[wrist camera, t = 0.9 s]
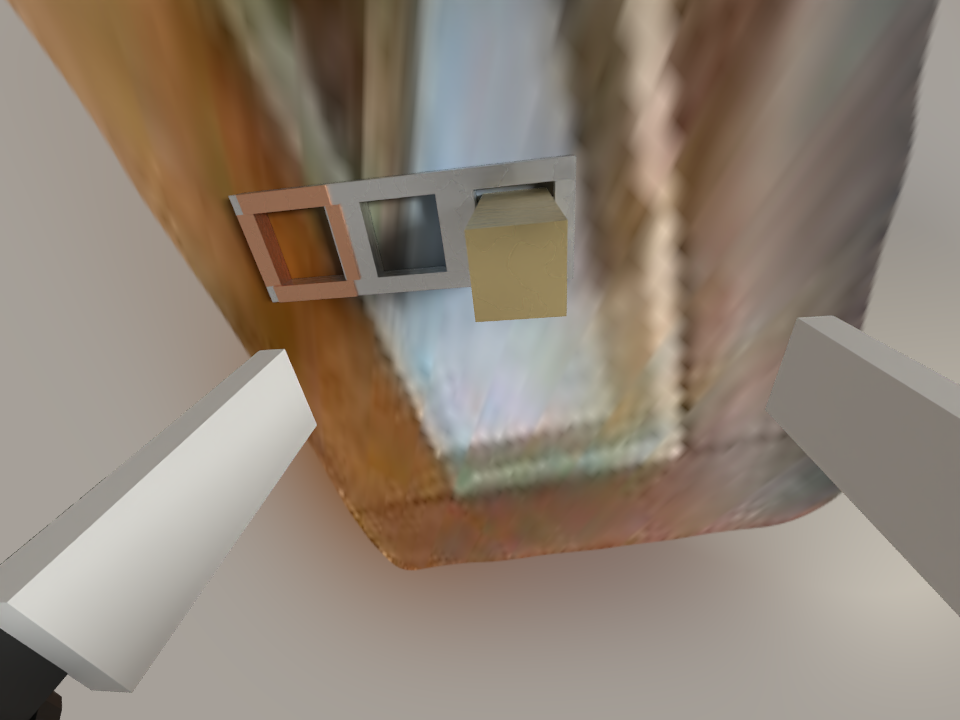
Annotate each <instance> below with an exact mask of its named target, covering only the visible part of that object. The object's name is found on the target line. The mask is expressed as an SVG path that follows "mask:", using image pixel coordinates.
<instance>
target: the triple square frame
mask: <svg viewBox="0 0 960 720" xmlns="http://www.w3.org/2000/svg"><path fill="white" fill-rule="evenodd" d="M548 181H553V199H554V200H555V202H556V203H557V205H558V206H559V208H560V209H561V211H562V212H563V214H564V215H565V217H566V218H567V220H568V232H567V279H573V276H574V230H575V184H576V156H575V155H565V156H557V157H548V158H540V159H531V160H522V161H514V162H505V163H497V164H488V165H479V166H471V167H462V168H454V169H445V170H437V171H428V172H419V173H411V174H402V175H394V176H385V177H376V178H368V179H359V180H351V181H342V182H334V183H325V184H316V185H308V186H299V187H291V188H282V189H273V190H265V191H256V192H248V193H241V194H236V195H231V196H229V199H230V201H231V204H232V206H233V208H234V211H235V213H236V216H237V218H238V220H239V223H240V225H241V228H242V230H243V232H244V235H245V237H246V239H247V242H248V244H249V247H250V249H251V251H252V254H253V256H254V259H255V261H256V263H257V266H258V268H259V271H260V273H261V275H262V278H263V280H264V283H265V285H266V287H267V290H268V292H269V295H270V297H271V299H272V302H291V301H304V300H317V299H330V298H342V297H355V296H358V295H370V294H383V293H396V292H409V291H421V290H434V289H447V288H460V287H471V280H470V272H469V264H468V256H467V248H466V240H465V232H464V230H465V228H466V226H467V224H468V222H469V220H470V218H471V216H472V214H473V212H474V210H475V208H476V206H477V200H476V190H475V189H484V188H493V187H502V186H511V185H521V184H530V183H539V182H548ZM429 194H435V196H436V203H437V209H438V216H439V222H440V229H441V235H442V242H443V248H444V255H445V261H446V266H438V267H426V268H414V269H403V270H391V271H384V268H383V264H382V260H381V255H380V251H379V247H378V243H377V239H376V235H375V231H374V227H373V223H372V218H371V214H370V210H369V206H368V202H367V201H374V200H383V199H392V198H401V197H411V196H420V195H429ZM322 206H324V209H325V212H326V215H327V219H328V222H329V225H330V229H331V232H332V235H333V239H334V242H335V245H336V249H337V252H338V255H339V259H340V262H341V265H342V269H343V272H344V275H332V276H320V277H309V278H297V279H291V276H290V273H289V271H288V268H287V265H286V263H285V260H284V257H283V255H282V252H281V249H280V247H279V244H278V241H277V239H276V236H275V233H274V231H273V228H272V225H271V223H270V220H269V217H268V215H267V212H276V211H285V210H294V209H303V208H313V207H322Z"/></svg>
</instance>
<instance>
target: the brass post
mask: <svg viewBox="0 0 960 720" xmlns="http://www.w3.org/2000/svg"><path fill="white" fill-rule="evenodd" d="M464 232H465V240H466V248H467V256H468V264H469V272H470V280H471V288H472V296H473V304H474V312H475V320H476V322H484V321H499V320H514V319H529V318H545V317H560V316H566V311H567V232H568V220H567V218H566V217H565V215H564V214H563V212H562V211H561V209H560V208H559V206H558V205H557V203H556V202H555V200H554V199H553V197H552V196H551V194H550V193H549V191H548V190H547V188H546V187H542V188H532V189H523V190H514V191H504V192H495V193H486V194H483V195H482V197H481V199H480V201H479V202H478V204H477V206H476V208H475V210H474V212H473V214H472V216H471V218H470V220H469V222H468V224H467V226H466V228H465V230H464Z"/></svg>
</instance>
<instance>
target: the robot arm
mask: <svg viewBox="0 0 960 720" xmlns="http://www.w3.org/2000/svg"><path fill="white" fill-rule="evenodd" d="M765 410H766V411H767V412H768V413H769V414H770V415H771V417H772V418H773V419H774V420H775V421H776V422H777V423H778V424H779V425H780V426H781V427H782V428H783V429H784V430H785V431H786V432H787V434H788V435H789V436H790V437H791V438H792V439H793V440H794V441H795V442H796V443H797V444H798V445H799V446H800V447H801V448H802V450H803V451H804V452H805V453H806V454H807V455H808V456H809V457H810V458H811V459H812V460H813V461H814V462H815V463H816V464H817V465H818V467H819V468H820V469H821V470H822V471H823V472H824V473H825V474H826V475H827V476H828V477H829V478H830V479H831V480H832V481H833V482H834V484H835V485H836V486H837V487H838V488H839V489H840V490H841V491H842V492H843V493H844V494H845V495H846V496H847V497H848V498H849V499H850V501H852V503H853V504H854V505H855V506H856V507H857V508H858V509H859V510H860V511H861V512H862V513H863V514H864V515H865V516H866V518H868V520H869V521H870V522H871V523H872V524H873V525H874V526H875V527H876V528H877V529H878V530H879V531H880V532H881V534H882V535H883V536H884V537H885V538H886V539H887V540H888V541H889V542H890V543H891V544H892V545H893V546H894V547H895V548H896V550H898V552H900V553H901V555H902V556H903V557H904V558H905V559H906V560H907V561H908V562H909V563H910V564H911V565H912V567H913V568H914V569H915V570H916V571H917V572H918V573H919V574H920V575H921V576H922V577H923V578H924V579H925V580H926V581H927V582H928V584H929V585H930V586H931V587H932V588H933V589H934V590H935V591H936V592H937V593H938V594H939V595H940V596H941V597H942V598H943V599H944V601H945V602H946V603H947V604H948V605H949V606H950V607H951V608H952V609H953V610H954V611H955V612H956V613H957V614H958V615H959V617H960V385H959V384H958V383H955V382H954V381H952V380H950V379H948V378H947V377H945V376H943V375H941V374H939V373H937V372H935V371H934V370H932V369H930V368H928V367H926V366H925V365H923V364H921V363H919V362H917V361H915V360H914V359H912V358H909V357H908V356H906V355H904V354H902V353H901V352H899V351H897V350H895V349H893V348H891V347H890V346H887V345H886V344H884V343H882V342H880V341H878V340H877V339H875V338H873V337H871V336H869V335H867V334H866V333H864V332H862V331H860V330H858V329H857V328H855V327H853V326H851V325H849V324H847V323H846V322H844V321H842V320H840V319H838V318H836V317H835V316H818V317H801V318H797V320H796V323H795V326H794V329H793V331H792V334H791V337H790V340H789V343H788V346H787V349H786V351H785V354H784V357H783V360H782V363H781V366H780V369H779V371H778V374H777V377H776V380H775V383H774V386H773V389H772V391H771V394H770V397H769V400H768V403H767V406H766V409H765ZM316 425H317V424H316V422H315V420H314V417H313V415H312V413H311V410H310V408H309V405H308V403H307V401H306V398H305V396H304V394H303V391H302V389H301V386H300V384H299V382H298V379H297V377H296V375H295V372H294V370H293V367H292V365H291V363H290V360H289V358H288V356H287V353H286V351H285V349H276V350H260V351H258V352H257V353H256V354H255V355H254V356H252V357H251V358H250V359H249V360H247V361H246V362H245V363H244V364H243V365H241V367H239V368H238V369H237V370H235V371H234V372H233V373H232V374H231V375H229V376H228V377H227V378H226V379H224V380H223V381H222V382H221V383H220V384H218V385H217V386H216V387H215V388H214V389H212V390H211V391H210V392H209V393H208V394H206V395H205V396H204V397H203V398H202V399H200V400H199V401H198V402H197V403H196V404H195V405H193V406H192V407H191V408H189V409H188V410H187V411H186V412H185V413H183V414H182V415H181V416H180V417H179V418H177V419H176V420H175V421H174V422H173V423H171V424H170V425H169V426H168V427H167V428H165V429H164V430H163V431H162V432H160V433H159V434H158V435H157V436H156V437H154V438H153V439H152V440H151V441H150V442H148V443H147V444H146V445H145V446H144V447H142V448H141V449H140V450H139V451H137V452H136V453H135V454H134V455H133V456H131V458H129V459H128V460H127V461H126V462H124V463H123V464H122V465H121V466H119V467H118V468H117V469H116V470H115V471H113V472H112V473H111V474H110V475H108V476H107V477H106V478H104V479H103V480H102V481H101V482H99V484H97V485H96V486H95V487H93V488H92V489H91V490H90V491H89V492H87V493H86V494H85V495H84V496H83V497H81V498H80V499H79V500H78V501H77V502H76V503H75V504H73V505H72V506H70V507H69V508H68V509H67V510H66V511H64V512H63V513H62V514H61V515H60V516H58V517H57V518H56V520H54V521H53V522H52V523H50V524H49V525H47V526H46V527H45V528H44V529H43V530H42V531H40V532H39V533H38V534H37V535H35V536H34V537H33V538H32V539H30V540H29V541H28V542H27V543H26V544H25V545H23V546H22V547H21V548H20V549H18V550H17V551H16V552H15V553H14V554H12V555H11V556H10V557H9V558H7V559H6V560H5V561H4V562H3V563H1V564H0V720H60V716H61V711H62V697H61V696H60V695H59V694H57V693H56V692H55V691H54V689H55V688H56V687H57V686H58V685H59V684H60V682H61V681H62V680H63V679H64V678H65V677H66V675H67V674H68V675H69V676H71V677H72V678H74V679H75V680H77V681H78V682H80V683H82V684H83V685H84V686H86V687H87V688H89V689H90V690H97V691H114V692H129V693H132V692H133V691H134V689H135V688H136V686H137V685H138V684H139V682H140V681H141V679H142V678H143V676H144V675H145V673H146V672H147V671H148V669H149V668H150V666H151V665H152V663H153V661H154V660H155V659H156V657H157V656H158V655H159V653H160V651H161V650H162V649H163V647H164V646H165V644H166V643H167V641H168V640H169V639H170V637H171V636H172V634H173V633H174V631H175V630H176V628H177V627H178V625H179V624H180V623H181V621H182V620H183V618H184V617H185V615H186V614H187V613H188V611H189V610H190V608H191V607H192V605H193V604H194V602H195V601H196V599H197V598H198V596H199V595H200V594H201V592H202V591H203V589H204V588H205V586H206V585H207V584H208V582H209V580H210V579H211V578H212V576H213V575H214V573H215V572H216V570H217V569H218V567H219V566H220V565H221V563H222V562H223V560H224V559H225V557H226V556H227V555H228V553H229V552H230V550H231V549H232V547H233V546H234V544H235V543H236V541H237V540H238V539H239V537H240V536H241V534H242V532H243V531H244V530H245V528H246V527H247V525H248V524H249V523H250V521H251V520H252V518H253V517H254V515H255V514H256V512H257V511H258V509H259V508H260V507H261V505H262V504H263V502H264V501H265V499H266V498H267V497H268V495H269V493H270V492H271V491H272V489H273V488H274V486H275V485H276V483H277V482H278V480H279V479H280V478H281V476H282V475H283V473H284V472H285V470H286V469H287V468H288V466H289V465H290V463H291V462H292V460H293V459H294V457H295V456H296V454H297V453H298V452H299V450H300V449H301V447H302V446H303V444H304V443H305V441H306V440H307V439H308V437H309V436H310V434H311V433H312V431H313V430H314V428H315V427H316Z"/></svg>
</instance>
